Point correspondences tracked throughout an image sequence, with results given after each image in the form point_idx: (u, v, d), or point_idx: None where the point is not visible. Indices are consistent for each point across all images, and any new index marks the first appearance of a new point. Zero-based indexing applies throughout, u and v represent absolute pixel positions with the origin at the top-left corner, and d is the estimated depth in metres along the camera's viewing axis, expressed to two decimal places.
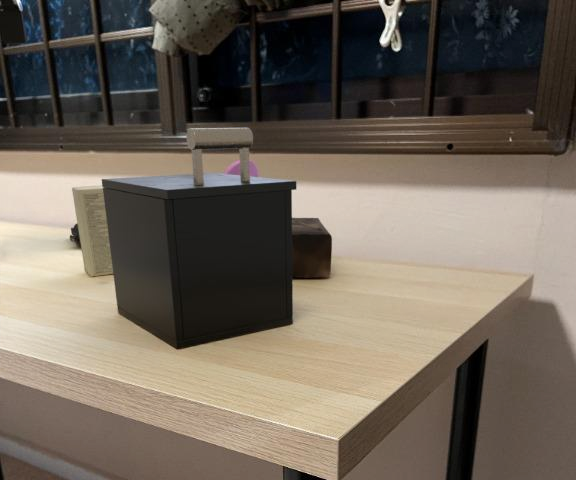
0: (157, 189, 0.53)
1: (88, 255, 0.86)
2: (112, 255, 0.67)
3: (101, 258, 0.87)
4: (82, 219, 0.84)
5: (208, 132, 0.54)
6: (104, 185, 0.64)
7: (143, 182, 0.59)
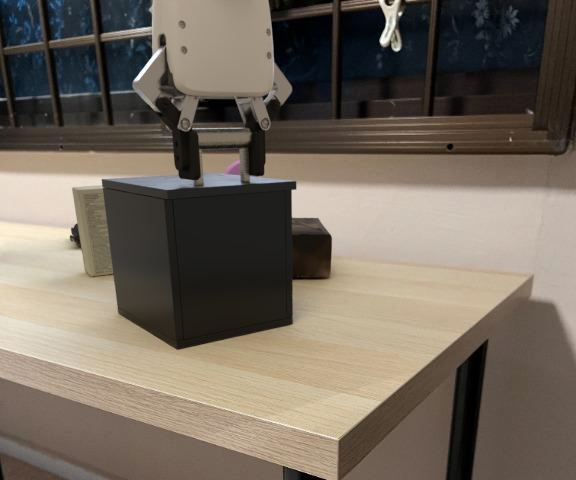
0: (157, 189, 0.53)
1: (88, 255, 0.86)
2: (112, 255, 0.67)
3: (101, 258, 0.87)
4: (82, 219, 0.84)
5: (208, 132, 0.54)
6: (104, 185, 0.64)
7: (143, 182, 0.59)
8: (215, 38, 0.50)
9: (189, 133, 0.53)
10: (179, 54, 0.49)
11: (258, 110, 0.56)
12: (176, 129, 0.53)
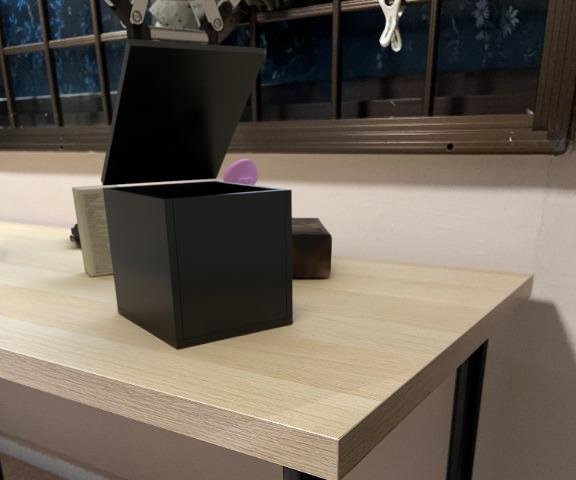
0: (123, 60, 0.53)
1: (88, 255, 0.86)
2: (112, 255, 0.67)
3: (101, 258, 0.87)
4: (82, 219, 0.84)
5: None
6: (103, 179, 0.64)
7: None
8: None
9: (141, 27, 0.55)
10: None
11: (210, 9, 0.58)
12: (129, 23, 0.55)
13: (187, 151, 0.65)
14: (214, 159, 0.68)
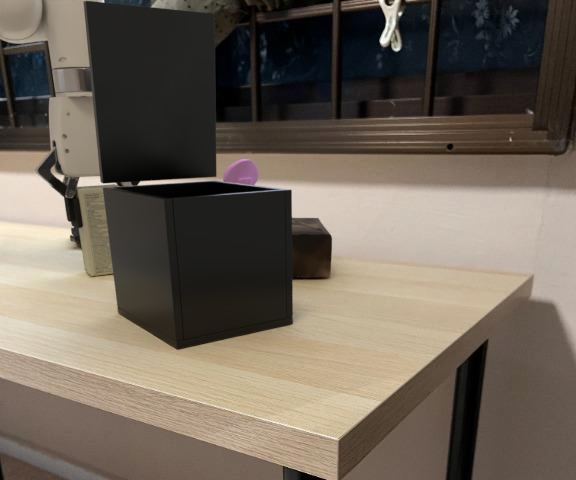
0: None
1: (88, 255, 0.86)
2: (112, 255, 0.67)
3: (102, 258, 0.87)
4: (82, 219, 0.84)
5: None
6: (101, 176, 0.64)
7: None
8: (87, 142, 0.81)
9: (73, 199, 0.83)
10: (63, 153, 0.80)
11: (124, 182, 0.86)
12: (65, 196, 0.83)
13: (176, 137, 0.67)
14: (206, 148, 0.69)
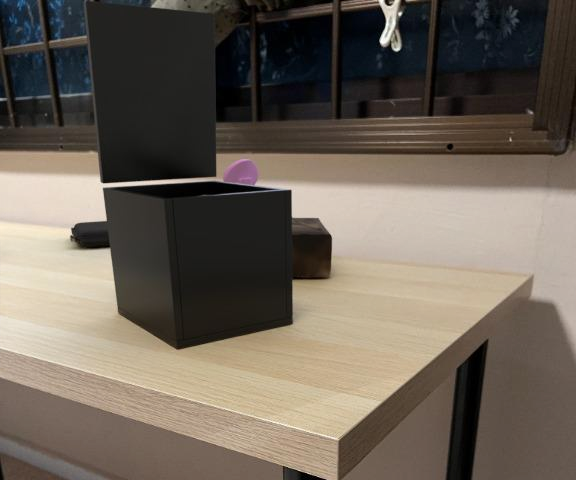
0: None
1: None
2: (112, 255, 0.67)
3: None
4: None
5: None
6: (101, 176, 0.64)
7: None
8: None
9: None
10: None
11: None
12: None
13: (176, 137, 0.67)
14: (206, 148, 0.69)
